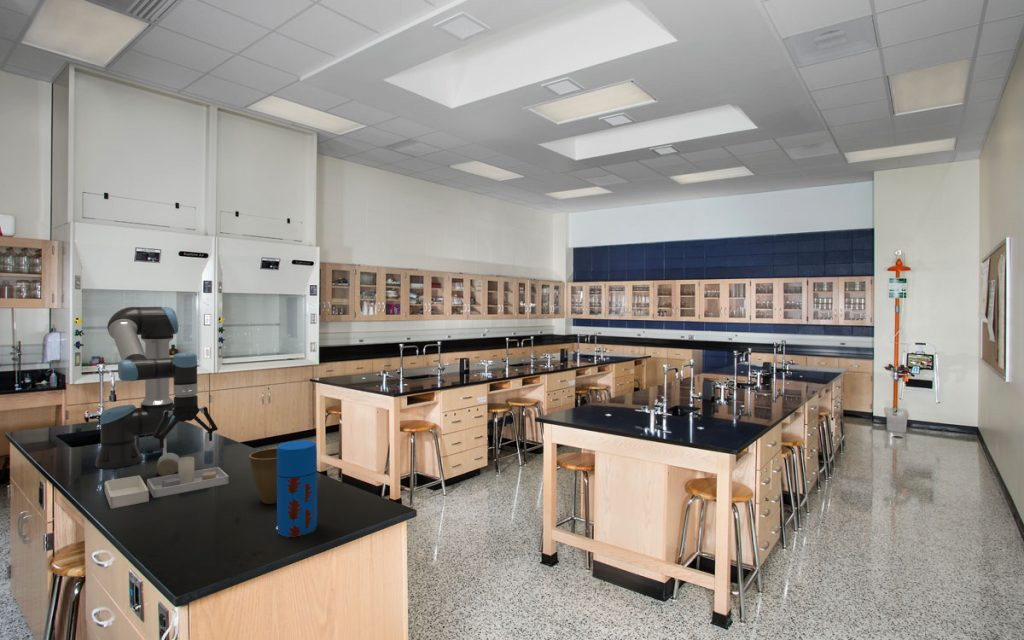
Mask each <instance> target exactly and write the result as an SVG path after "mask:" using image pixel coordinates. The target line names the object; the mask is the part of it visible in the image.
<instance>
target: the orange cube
mask: <svg viewBox="0 0 1024 640" xmlns="http://www.w3.org/2000/svg"><path fill="white" fill-rule="evenodd" d="M214 478H216V471H214V472H204V473H203V475H202V481H203V480H208V479H214Z"/></svg>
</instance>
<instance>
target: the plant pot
mask: <svg viewBox="0 0 1024 640" xmlns="http://www.w3.org/2000/svg"><path fill="white" fill-rule="evenodd" d="M249 460H250V467H251V472H252V477H253V481H254V483H255V487H256V490H257V493H258V495H259V497H260V500H261V502H262V503H263V504H269V505H272V504H277V447H276V448H269V449H261V450H258V451H254V452H252V453H251V454H249Z"/></svg>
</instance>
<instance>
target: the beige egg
mask: <svg viewBox="0 0 1024 640" xmlns="http://www.w3.org/2000/svg"><path fill="white" fill-rule="evenodd" d="M179 458H180V459H178V472H179V473H178V472H177V473H178V474H179V480H180V485H181V484H186V483H192V482H194V471H195V457H194V456H183V457H179Z"/></svg>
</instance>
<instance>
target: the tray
mask: <svg viewBox="0 0 1024 640" xmlns="http://www.w3.org/2000/svg"><path fill="white" fill-rule="evenodd" d="M214 471H216V478H214V479H208V480H203V481H202V475H203V473H204V472H214ZM171 478H177V479H179V473H175V474H174V475H168V476H158V477H157V476H156V477H152V478H147V479H146V487H147V488H148V490H149V494H151V496H152V497H153V499H154V498H155V499H156V498H161V497H165V496H167V497H168V496H171V495H172V496H173V495H176V494H182V493H187V492H193V491H197V490H203V489H208V488H212V487H218V486H222V485H223V486H224V485H228V484H230V476H229V475H228V474H227V473H226V472H225V471H224V470H222V468H220V467H219V466H215V467H209V468H204V469H203V468H202V469H199V470H194V482H192V483H186V484H181V485H175V486H170V487H164V488H162V480H167V479H171Z"/></svg>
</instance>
